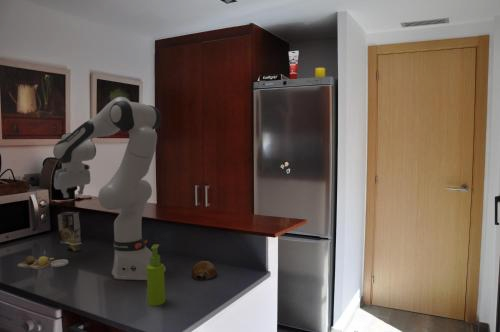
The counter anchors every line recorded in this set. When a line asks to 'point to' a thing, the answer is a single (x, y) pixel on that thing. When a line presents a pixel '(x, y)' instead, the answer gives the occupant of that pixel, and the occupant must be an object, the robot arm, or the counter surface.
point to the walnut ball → (29, 260)
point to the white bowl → (59, 263)
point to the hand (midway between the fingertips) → (73, 196)
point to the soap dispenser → (155, 279)
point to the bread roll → (203, 270)
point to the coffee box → (69, 226)
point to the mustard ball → (43, 260)
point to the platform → (73, 244)
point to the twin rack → (35, 265)
